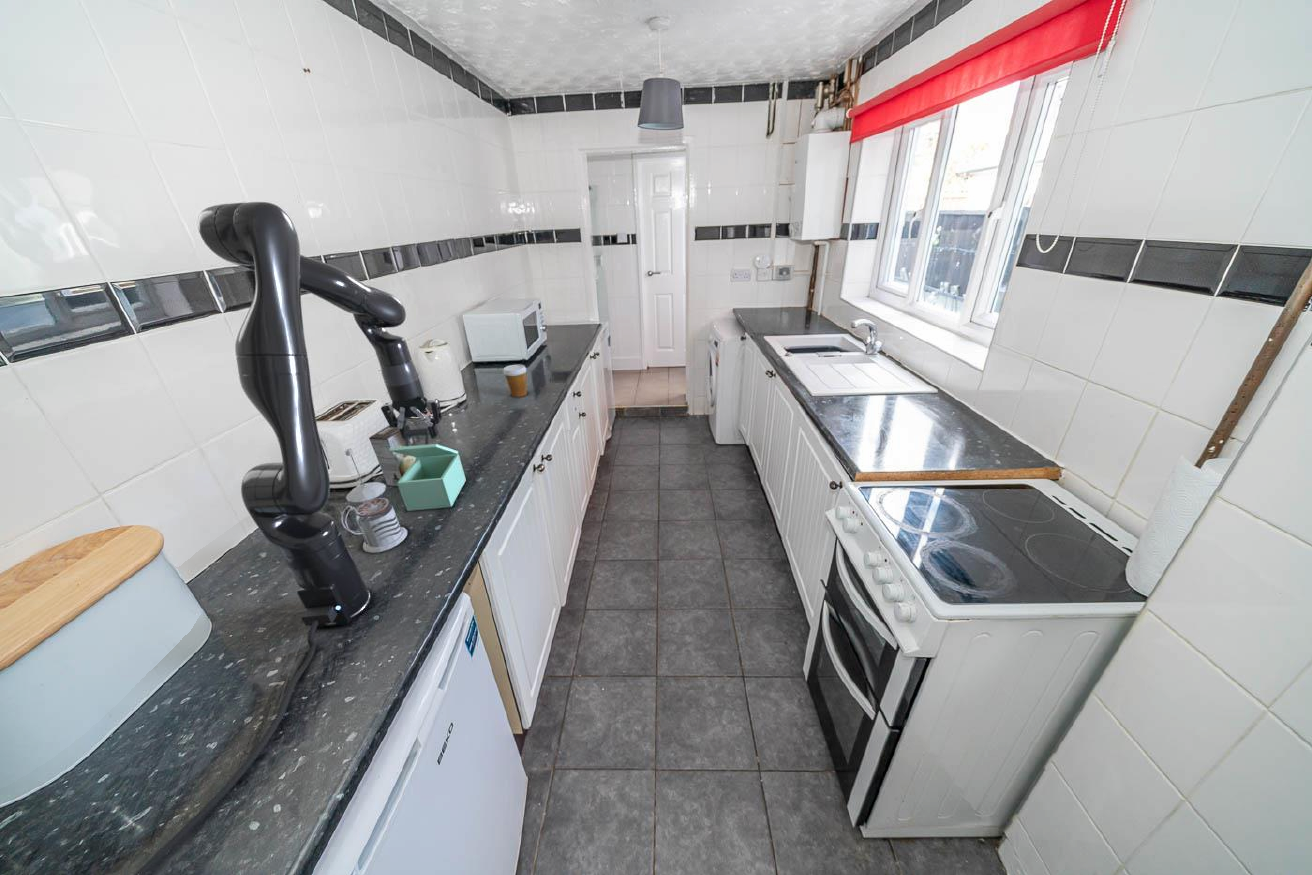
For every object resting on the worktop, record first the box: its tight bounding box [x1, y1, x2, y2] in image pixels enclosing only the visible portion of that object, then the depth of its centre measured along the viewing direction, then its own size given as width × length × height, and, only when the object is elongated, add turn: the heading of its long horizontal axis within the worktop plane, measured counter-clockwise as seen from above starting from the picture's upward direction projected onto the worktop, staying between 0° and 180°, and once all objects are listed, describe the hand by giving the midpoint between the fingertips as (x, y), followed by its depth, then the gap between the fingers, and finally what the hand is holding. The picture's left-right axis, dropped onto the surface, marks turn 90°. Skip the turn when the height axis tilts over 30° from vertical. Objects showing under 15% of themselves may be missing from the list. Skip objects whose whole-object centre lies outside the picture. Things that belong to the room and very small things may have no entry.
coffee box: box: [368, 424, 420, 487], centre depth 133 cm, size 9×6×16 cm
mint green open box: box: [397, 453, 467, 512], centre depth 125 cm, size 14×12×9 cm
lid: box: [390, 427, 459, 458], centre depth 122 cm, size 14×12×6 cm
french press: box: [340, 448, 408, 554], centre depth 104 cm, size 10×12×25 cm
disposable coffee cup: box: [502, 364, 528, 398], centre depth 193 cm, size 10×10×12 cm
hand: (421, 438), depth 120 cm, fingers closed on lid, 6 cm apart
